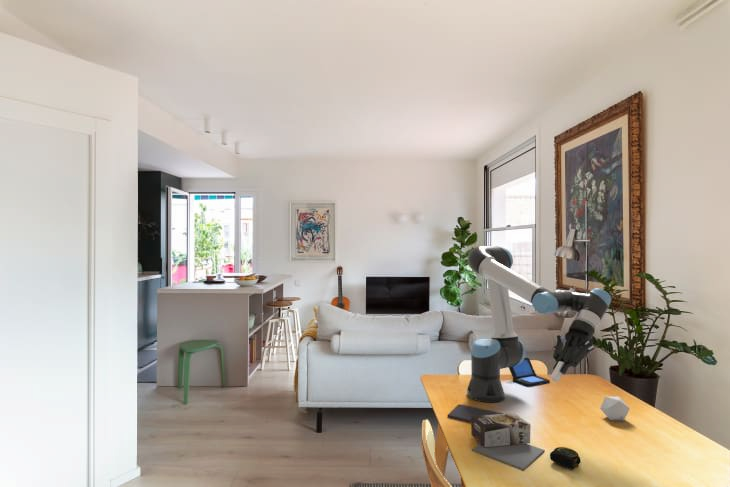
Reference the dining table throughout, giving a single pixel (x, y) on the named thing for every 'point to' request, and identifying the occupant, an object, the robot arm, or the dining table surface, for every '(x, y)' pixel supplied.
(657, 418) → the dining table surface
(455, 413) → the notebook
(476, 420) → the coffee box
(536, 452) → the mat
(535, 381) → the handheld game console
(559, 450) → the tape measure
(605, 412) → the die
